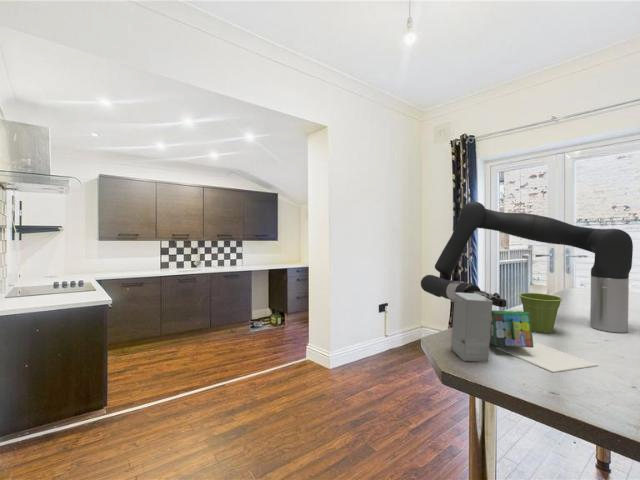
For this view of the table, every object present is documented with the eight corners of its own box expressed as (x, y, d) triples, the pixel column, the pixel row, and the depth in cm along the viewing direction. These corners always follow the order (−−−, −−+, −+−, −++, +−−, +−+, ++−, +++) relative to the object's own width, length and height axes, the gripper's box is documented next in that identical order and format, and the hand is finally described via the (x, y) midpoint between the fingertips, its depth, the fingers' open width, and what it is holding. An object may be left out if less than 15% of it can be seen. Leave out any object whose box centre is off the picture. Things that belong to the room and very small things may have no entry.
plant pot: (517, 331, 101) (518, 297, 100) (518, 323, 110) (518, 291, 110) (564, 338, 94) (564, 301, 94) (560, 328, 104) (561, 295, 104)
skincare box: (450, 349, 85) (450, 292, 85) (476, 349, 85) (477, 292, 85) (463, 362, 77) (463, 298, 76) (493, 362, 77) (493, 298, 76)
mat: (496, 348, 86) (496, 347, 86) (535, 343, 90) (535, 342, 90) (552, 372, 71) (552, 371, 71) (597, 366, 74) (597, 364, 74)
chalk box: (516, 342, 90) (541, 351, 76) (482, 341, 92) (500, 348, 78) (513, 310, 92) (537, 312, 78) (480, 309, 94) (497, 310, 80)
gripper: (446, 283, 107) (486, 292, 90) (479, 281, 110) (522, 290, 93) (446, 305, 107) (485, 318, 90) (478, 302, 110) (522, 314, 94)
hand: (504, 303), depth 92 cm, fingers closed
